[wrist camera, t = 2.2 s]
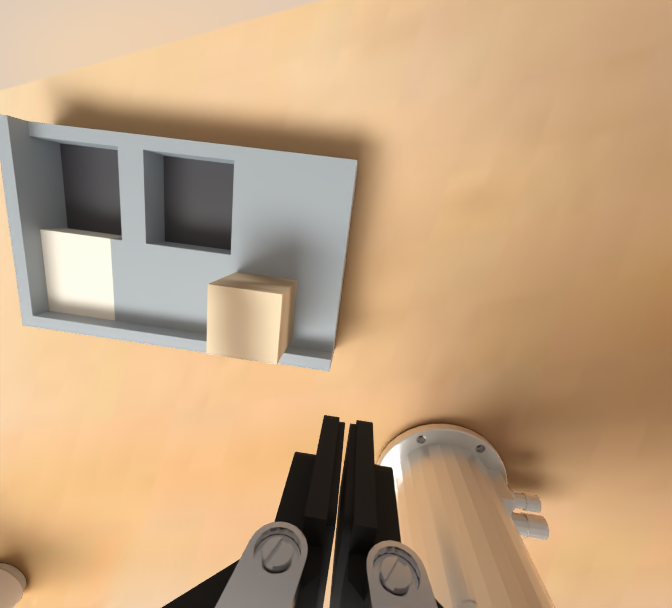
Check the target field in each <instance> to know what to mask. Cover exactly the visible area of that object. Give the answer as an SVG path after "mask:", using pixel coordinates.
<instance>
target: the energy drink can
mask: <svg viewBox="0 0 672 608" xmlns="http://www.w3.org/2000/svg"><path fill="white" fill-rule="evenodd" d="M25 587H26V579H25V577H24V575H23V574H22V573H21V572H20V571H19V570H18V569H17V568H15V567H13V566H11V565H9V564H4V563H0V608H13V607H14V606H15V605H16V604H17V603H18V602H19V601H20V599H21V598H22V596H23V590H24V589H25Z"/></svg>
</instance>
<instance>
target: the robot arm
mask: <svg viewBox="0 0 672 608" xmlns="http://www.w3.org/2000/svg"><path fill="white" fill-rule="evenodd" d="M344 429H345V423H344V422H339V417H334V416H327V415H324V419H323V424H322V429H321V434H320V439H319V444H318V449H317V454H316V455H313V454H307V453H301V452H295V454H294V457H293V461H292V464H291V467H290V471H289V474H288V478H287V481H286V485H285V488H284V491H283V495H282V498H281V502H280V505H279V508H278V512H277V515H276V519H275V522H272V523H269V524H267V525H264V526H263V527H261V528H260V529H259V530H257V531H256V532H255V534H254V535H253V536H252V538H251V539H250V541H249V543H248V545H247V547H246V549H245V551H244V553H243V554H242V556H241V558H240V559H239V560H238V561H236V562H235V563H233V564H231V565H230V566H228V567H226V568H225V569H223V570H222V571H220V572H218V573H217V574H215V575H214V576H212V577H210V578H209V579H207V580H205V581H204V582H202V583H201V584H199V585H197V586H196V587H194V588H193V589H191V590H189V591H188V592H186V593H185V594H183V595H181V596H180V597H178V598H176V599H175V600H173V601H172V602H170V603H168V604H167V605H165V606H164V607H162V608H323V603H324V596H325V590H326V583H327V577H328V570H329V564H330V557H331V551H332V544H333V538H334V531H335V524H336V515H337V505H338V494H339V484H340V473H341V462H342V451H343V440H344ZM507 484H508V481H507V472H506V469H505V467H504V464H503V461H502V460H501V458H500V456H499V454H498V453H497V451H496V450H495V449H494V447H493V446H492V445H491V444H490V443H489V442H488V441H487V440H486V439H485V438H483V437H482V436H481V435H479V434H477V433H475V432H474V431H472V430H470V429H467V428H464V427H461V426H458V425H451V424H428V425H422V426H418V427H416V428H413V429H410V430H408V431H406V432H404V433H402V434H400V435H399V436H397V437H396V438H395V439H394V440H392V441H391V442H390V443H389V444H388V445H387V447H386V448H385V449H384V450H383V452H382V453H381V455H380V457H379V460H378V462H377V465H375V464H374V442H373V423H372V422H366V421H359V420H357V422H356V424H350V428H349V434H348V441H347V447H346V454H345V461H344V467H343V474H342V480H341V487H340V495H339V505H338V517H337V528H336V539H335V551H334V562H333V573H332V585H331V596H330V608H555V606H554V604H553V602H552V600H551V598H550V596H549V594H548V592H547V590H546V588H545V586H544V584H543V582H542V580H541V578H540V576H539V574H538V571H537V569H536V567H535V565H534V563H533V561H532V559H531V557H530V555H529V553H528V551H527V549H526V547H525V545H524V543H523V541H522V539H521V537H520V535H523V536H524V537H527V538H533V539H539V540H547V538H548V536H549V529H548V524H547V522H546V520H545V518H544V517H543V516H539V515H533V514H527V513H514V512H513V510H514V509H515V508H519V509H523V510H526V511H532V512H540V511H541V501H540V499H539V497H538V496H537V495H531V494H525V493H521V494H520V493H514V492H513V491H512V489H510V488H508V486H507Z"/></svg>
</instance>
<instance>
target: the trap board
mask: <svg viewBox="0 0 672 608" xmlns="http://www.w3.org/2000/svg"><path fill="white" fill-rule="evenodd" d="M0 163H1V171H2V178H3V185H4V192H5V200H6V207H7V214H8V221H9V229H10V236H11V243H12V250H13V258H14V265H15V272H16V279H17V287H18V294H19V301H20V308H21V316H22V323H23V326H29V327H36V328H43V329H49V330H56V331H63V332H69V333H76V334H83V335H89V336H96V337H103V338H109V339H116V340H123V341H129V342H136V343H143V344H150V345H156V346H163V347H170V348H176V349H183V350H190V351H196V352H203V353H206V348H207V294H208V284H209V283H212V282H214V281H216V280H219V279H221V278H223V277H226V276H228V275H230V274H233V273H235V272H241V273H248V274H255V275H262V276H270V277H277V278H284V279H292V280H297V291H296V302H295V313H294V324H293V335H292V340H291V341H290V343H289V345H288V347H287V348H286V350H285V352H284V353H283V355H282V357H281V358H280V360H279V362H278V363H277V364H283V365H290V366H296V367H303V368H310V369H317V370H323V371H330V366H331V362H332V358H333V353H334V348H335V341H336V333H337V325H338V317H339V310H340V302H341V294H342V286H343V279H344V271H345V263H346V255H347V248H348V240H349V232H350V225H351V217H352V209H353V201H354V194H355V186H356V178H357V170H358V162H357V160H353V159H344V158H336V157H327V156H319V155H310V154H302V153H293V152H285V151H276V150H268V149H259V148H251V147H242V146H234V145H225V144H217V143H208V142H199V141H191V140H182V139H174V138H165V137H157V136H148V135H140V134H131V133H123V132H114V131H106V130H97V129H89V128H80V127H72V126H63V125H55V124H46V123H38V122H29V121H25V120H21V119H18V118H14V117H11V116H7V115H0Z"/></svg>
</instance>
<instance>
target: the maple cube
mask: <svg viewBox="0 0 672 608" xmlns="http://www.w3.org/2000/svg"><path fill="white" fill-rule="evenodd" d="M296 291H297V280H292V279H284V278H277V277H270V276H262V275H255V274H248V273H241V272H235V273H233V274H230V275H228V276H226V277H223V278H221V279H219V280H216V281H214V282H212V283H209V284H208V294H207V348H206V354H210V355H216V356H223V357H230V358H236V359H243V360H250V361H256V362H263V363H270V364H276V365H277V363H278V362H279V360H280V358H281V357H282V355H283V353H284V352H285V350H286V348H287V347H288V345H289V343H290V341H291V340H292V335H293V324H294V313H295V302H296Z"/></svg>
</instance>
